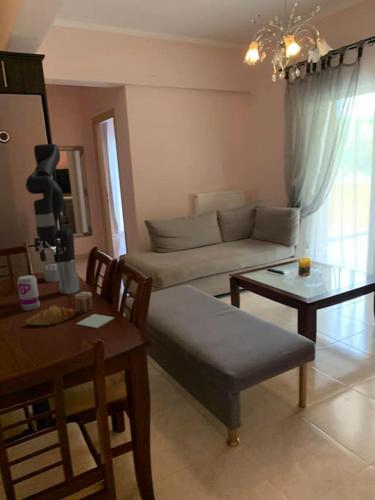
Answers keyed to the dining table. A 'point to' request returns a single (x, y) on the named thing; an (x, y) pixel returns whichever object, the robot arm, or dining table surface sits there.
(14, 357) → the dining table surface
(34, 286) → the supplement can
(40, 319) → the croissant
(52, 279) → the egg container
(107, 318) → the mat
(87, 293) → the stool
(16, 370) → the dining table surface
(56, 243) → the robot arm
